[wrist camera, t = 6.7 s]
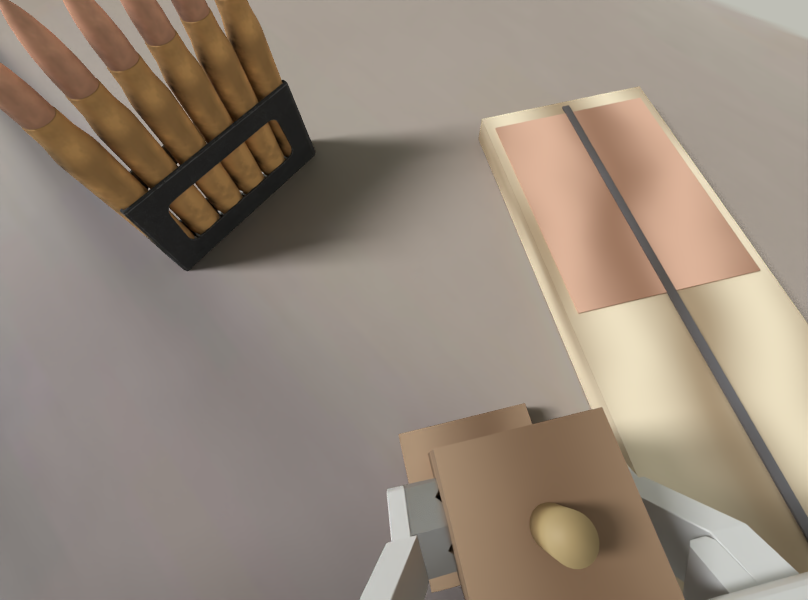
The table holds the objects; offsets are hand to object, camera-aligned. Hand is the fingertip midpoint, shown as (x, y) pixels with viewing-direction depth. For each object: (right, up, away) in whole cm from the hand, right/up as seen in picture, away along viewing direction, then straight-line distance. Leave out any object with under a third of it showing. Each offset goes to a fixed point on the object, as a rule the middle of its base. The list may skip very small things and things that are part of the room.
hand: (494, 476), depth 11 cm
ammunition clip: (-12, +11, +12) cm, 20 cm away
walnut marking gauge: (0, -3, +5) cm, 5 cm away
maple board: (+10, +6, +8) cm, 14 cm away
